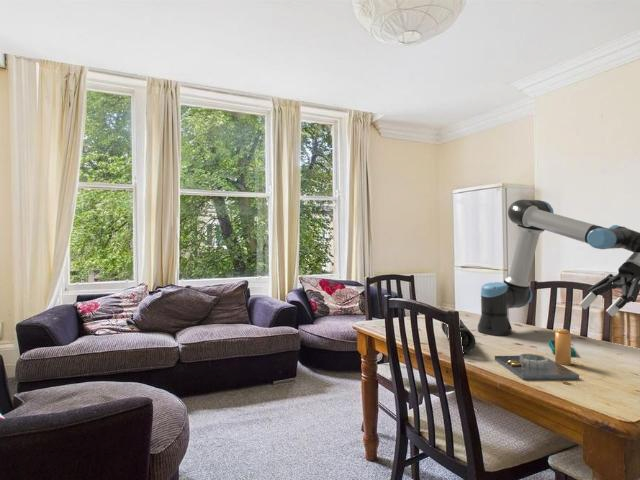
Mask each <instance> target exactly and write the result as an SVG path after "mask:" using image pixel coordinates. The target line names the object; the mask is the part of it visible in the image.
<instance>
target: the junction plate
mask: <svg viewBox="0 0 640 480" xmlns="http://www.w3.org/2000/svg"><path fill="white" fill-rule="evenodd" d="M494 361H495V362H497V363H498V364H499V365H501V366H503V368H506V369H507V370H509V372H511V373H512V374H514V375H516V376H517V377H518V378H520V379H521V380H523V381H526V380H527V381H528V380H531V381H532V380H533V381H534V380H535V381H537V380H538V381H539V380H541V381H542V380H545V381H546V380H547V381H549V380H551V381H552V380H553V381H554V380H556V381H557V380H559V381H561V380H580V374H578V373H577V372H575V371H573V370H571V369H569V368H567V367H565V365H561V364H558V363H556V362H555V360H552V359H550V358H548V357H547V356H545V355H540V354H537V353H536V354H534V353H522V354H519V355H494Z"/></svg>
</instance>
